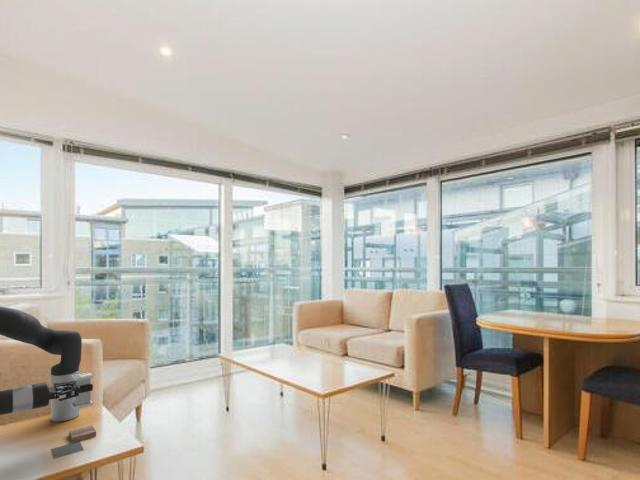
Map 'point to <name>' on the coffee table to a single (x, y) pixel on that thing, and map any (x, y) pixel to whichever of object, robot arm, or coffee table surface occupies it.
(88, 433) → the plinth
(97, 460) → the coffee table surface
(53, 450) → the mat
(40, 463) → the coffee table surface
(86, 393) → the housing
